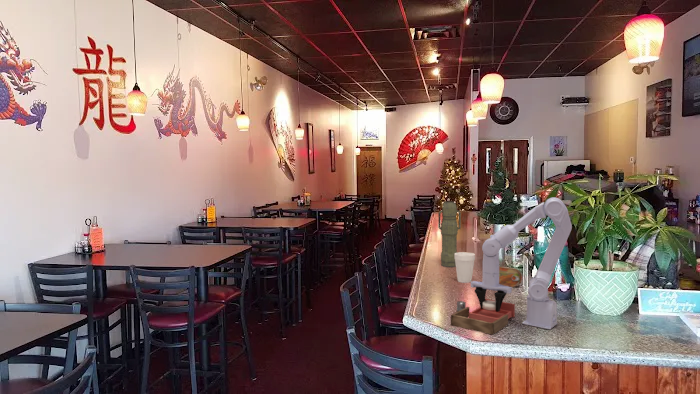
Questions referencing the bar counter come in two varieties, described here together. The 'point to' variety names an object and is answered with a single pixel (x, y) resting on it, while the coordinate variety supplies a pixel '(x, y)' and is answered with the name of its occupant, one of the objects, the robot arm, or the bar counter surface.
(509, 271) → the tin
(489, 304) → the white dome
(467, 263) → the foam cup
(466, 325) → the cabinet
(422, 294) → the bar counter surface
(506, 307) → the drawer
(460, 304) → the cylinder
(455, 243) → the thermos
